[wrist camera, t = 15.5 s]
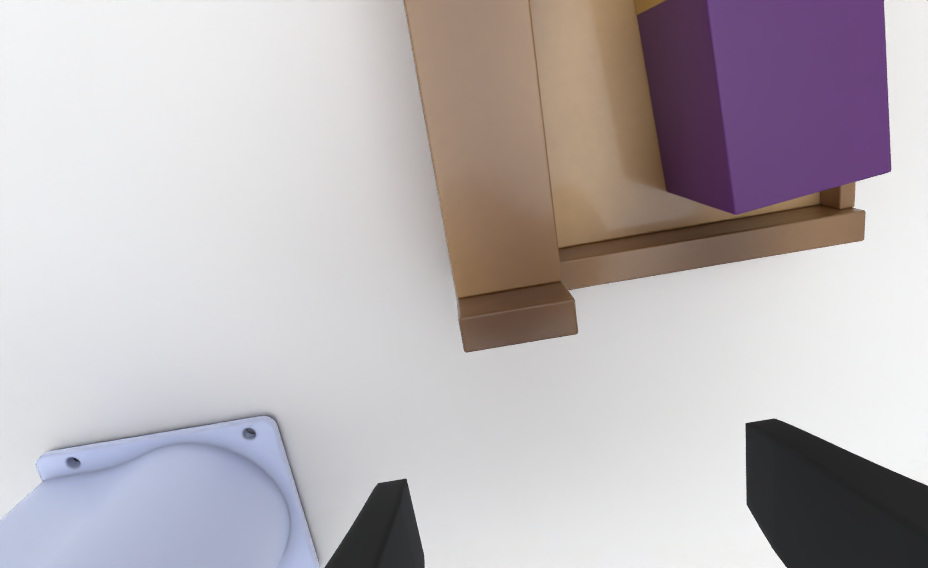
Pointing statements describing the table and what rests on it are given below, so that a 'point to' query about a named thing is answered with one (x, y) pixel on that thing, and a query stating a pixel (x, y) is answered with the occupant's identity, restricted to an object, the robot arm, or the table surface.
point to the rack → (568, 166)
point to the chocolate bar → (766, 96)
